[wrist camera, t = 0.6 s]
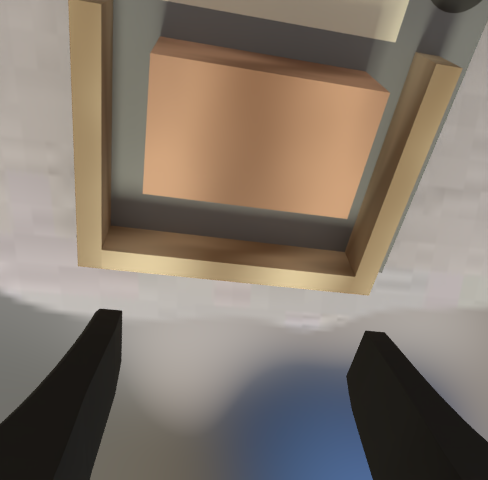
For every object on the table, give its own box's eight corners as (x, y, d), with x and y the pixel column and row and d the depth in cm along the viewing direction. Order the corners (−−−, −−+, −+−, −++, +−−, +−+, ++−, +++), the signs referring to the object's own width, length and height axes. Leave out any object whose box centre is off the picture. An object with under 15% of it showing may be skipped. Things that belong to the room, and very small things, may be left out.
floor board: (525, -93, 16) (535, -94, 15) (378, 265, 24) (381, 272, 23) (74, -199, 14) (69, -204, 13) (85, 233, 22) (82, 240, 21)
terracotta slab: (365, 71, 18) (390, 92, 15) (331, 185, 20) (347, 219, 18) (159, 36, 17) (150, 53, 14) (151, 161, 19) (142, 193, 17)
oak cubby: (439, 56, 18) (462, 68, 16) (357, 269, 23) (368, 295, 22) (83, -8, 16) (68, -2, 14) (88, 240, 21) (77, 266, 20)
